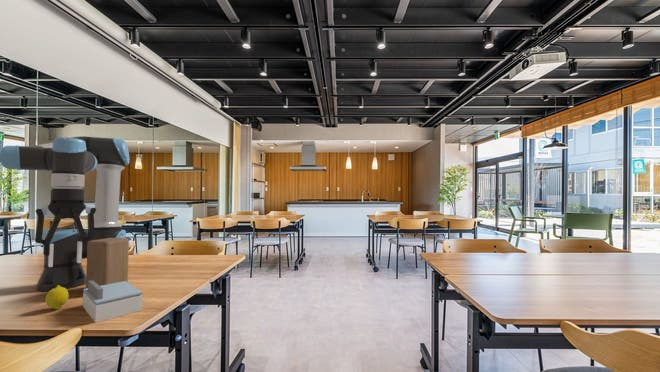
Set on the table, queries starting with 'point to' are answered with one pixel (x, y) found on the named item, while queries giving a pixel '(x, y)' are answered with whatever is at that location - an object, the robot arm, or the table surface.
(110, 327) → the table surface
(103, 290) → the lid
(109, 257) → the wooden block
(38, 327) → the table surface
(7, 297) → the table surface
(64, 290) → the fruit
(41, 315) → the table surface
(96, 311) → the box
